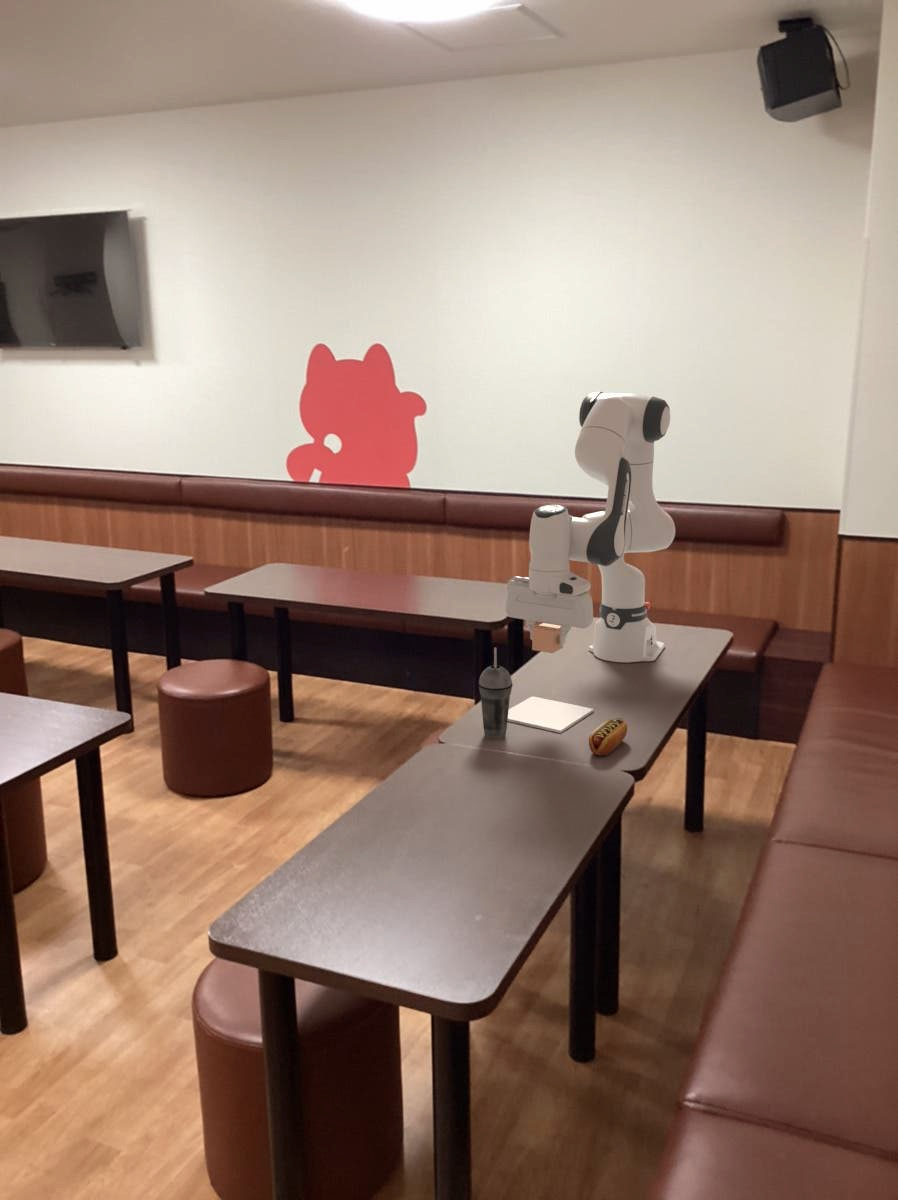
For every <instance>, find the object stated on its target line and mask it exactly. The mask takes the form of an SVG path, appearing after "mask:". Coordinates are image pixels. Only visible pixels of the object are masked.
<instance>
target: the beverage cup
mask: <svg viewBox="0 0 898 1200" xmlns="http://www.w3.org/2000/svg"><path fill="white" fill-rule="evenodd" d="M497 650H498V649H497V647H494V648H493V655H494V656H493V658H494V659H493V665H490V666H487V667H486V668H485V669H484V670H483V671H482V673H481V674H480V676H479V679H478V684H477V685H478V689H479V694H480V701H481V713H482V723H483V725H482V727H483V731H484V733H483V734H484V738H486V739H488V740H494V741H495V740H496V741H497V740H503V739H505V738H506V735H507V734H506V733H507V729H508V721H507V720H508V710H509V709H510V708H509V707H510V701H511V700H510V698H511V694H512V688H513V685H514V684H513V681H512V677H511V674H510V673H509V671H508V670H507V669H506V668H505V667H503V666H501V665H497V664H498V663H497V661H498V659H497V658H498V657H497V652H498V651H497Z"/></svg>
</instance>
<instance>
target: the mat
mask: <svg viewBox="0 0 898 1200" xmlns="http://www.w3.org/2000/svg"><path fill="white" fill-rule="evenodd" d="M593 712H595V710H594V708H592V707H586V706H581V705H576V704H572V703H566V702H562V701H557V700H554V699H553V700H551V699H547V698H543V697H537V696H534V695H533V696H530V697H528V698H527V699H526V698H525V700H523V701H521V702H520V703H518V704H516V705H514V706H512V707H510V708H509V710H508V720H507V722H511V723H515V724H519V725H523V726H527V727H532V728H537V729H540V730H545V731H548V732H549V731H550V732H554V733H557V734H558V733H559V734H562V733H563V732H565V731H566V730H568V729H569V728H571V727H573V726H574V725H575V724H577V723H578V722H580V721H581V720H583V719H584V718H586V717H587V716H589V715H591V714H592V713H593Z"/></svg>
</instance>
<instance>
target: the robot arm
mask: <svg viewBox="0 0 898 1200" xmlns="http://www.w3.org/2000/svg"><path fill="white" fill-rule="evenodd" d="M579 408H580V409H579V413H578V414H579V415H578V419H579V420H578V421H579V425H580V427H581V429H580V431H579V435H578V438H577V440H576V443H575V446H574V447H575V448H574V456H575V460H576V463H577V464H578V466H579V467H580V468H581V470H582V471H583V472H584V473H585V474H587V475H588V477H591V478H593V479H595V480H597V481H599V482H601V483H603V484H604V485H606V486H608V490H607V496H606V497H607V498H606V505H605V509H604V510H601V511H595V512H592V513H591V512H590V513H585V514H584V515H582V517H578V516H573V515H571V514H569V510H568V508H567V507H566V506H563V505H561V504H548V505H541V506H540V507H537V508H536V509H534V511H533V513H532V516H531V520H530V528H529V540H528V541H529V543H528V544H529V545H528V546H529V552H530V561H529V564H528V577H525V576H524V577H522V576H517V575H514V576H513V577H511V578H509V580H508V581H507V588H506V589H507V595H506V600H505V601H506V602H505V614H506V616H507V617H509V618H514V619H519V620H525V625H526V627H527V629H528V631H529V633H530V634H529V635H530V637H529V639H530V640H532V629H533V627H536V625H535V624H536V622H538V623H547V624H553V625H560V626H561V630H563V631H562V633H561V635H559V636H556V640H557V641H556V644H561V645H563V646H564V645H566V642H567V641H566V638H567V635H568V634H569V632H570V631H571V629H572V628H576V629H582V630H583V629H585V628H588V627H590V626H591V625H592V623H593V621H594V607H593V606H594V605H593V598H592V596H591V594H590V592H589V591H590V589H591V583H590V581H589V580H587V579H586V578H584V577H581V576H579V575H577V574H575V573H573V572H572V571H570V561H573V562H575V561H576V562H584V563H591V564H594V565H597V566H598V569H599V572H600V576H601V602H600V603H599V617H600V618H598V619H597V620H596V621H595V623H594V633H593V641H592V644H590V645H589V646H588V651H590V652H591V653H593V654H594V656H595V657H596V658H598V659H600V660H603V661H609V662H614V663H638V662H653V661H655V660H656V659H657V658H658V656H660V654H661V652H662V651H663V650H664V648H665V647H666V646H665V643H664V642H662V641H659V640H657V627H656V626H655V624H654V623H652V622H651V620H650V619H649V618H648V613H647V611H649V610H650V608H651V602H649V601H646V602H645V596H646V594H645V592H646V591H645V589H646V577H645V575H644V573H643V572H642V571H641V570H640V569H638V567H636V566H634V565H631V564H629V563H627V562H626V561H625V554H628V553H652V552H657V551H658V552H659V551H661V550H666V549H668V548H670V546H671V544H672V543H673V541H674V539H675V537H676V525H675V522H674V520H673V518H672V516H671V515H670V514H669V513H667V512H666V511H665V510H664V509H663V508H662V507H661V505H659V503H658V501H657V500H656V497H655V494H654V490H653V489H654V488H653V487H654V486H653V474H654V473H653V472H654V457H655V442H656V441H660V440H661V439H662V438H663V437H665V435H666V433H667V431H668V429H669V427H670V422H671V410H670V406H669V404H668V403H667V401H666V400H665V399H662V398H660V397H656V396H646V395H641V394H638V393H630V392H626V393H622V392H620V393H619V392H609V393H608V392H606V393H605V392H603V391H597V392H596V391H595V392H590V393H589V394H588V395H587V396H585V397H584V398H583V400H582V402H581V404H580V407H579Z"/></svg>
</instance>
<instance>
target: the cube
mask: <svg viewBox="0 0 898 1200" xmlns="http://www.w3.org/2000/svg"><path fill="white" fill-rule="evenodd" d="M562 631H563V630H561V625H557V624H550V623H544V622H541V623H540V624H538V625H535V627H533V629H532V639H531V641H532V643H531V644H532V645H531V650H532V651H537V652H543V653H549V654H554V653H556V652H558V651H559V650H562V649H563V648H564V644H563V645H561V644H556V641H557V640H556V636H559V635H561V633H562Z"/></svg>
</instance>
